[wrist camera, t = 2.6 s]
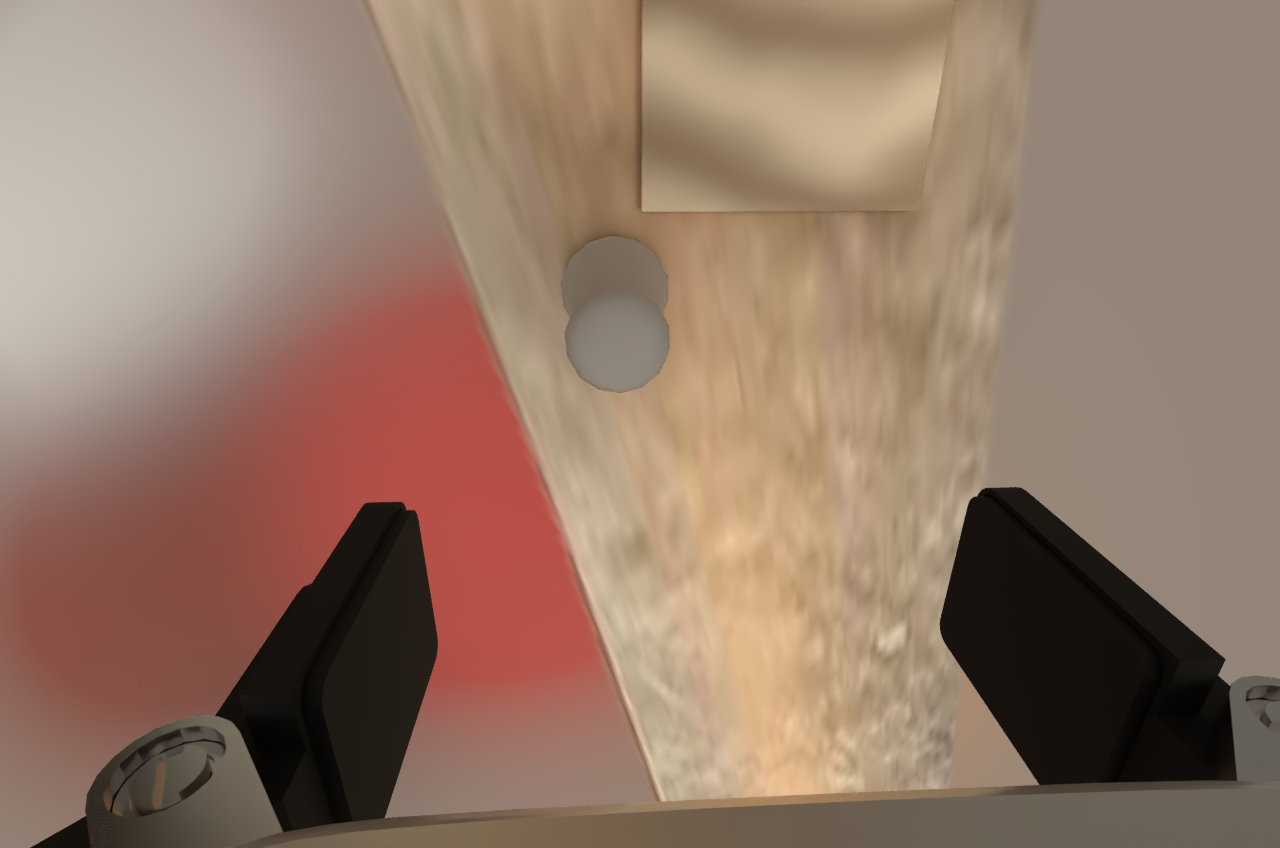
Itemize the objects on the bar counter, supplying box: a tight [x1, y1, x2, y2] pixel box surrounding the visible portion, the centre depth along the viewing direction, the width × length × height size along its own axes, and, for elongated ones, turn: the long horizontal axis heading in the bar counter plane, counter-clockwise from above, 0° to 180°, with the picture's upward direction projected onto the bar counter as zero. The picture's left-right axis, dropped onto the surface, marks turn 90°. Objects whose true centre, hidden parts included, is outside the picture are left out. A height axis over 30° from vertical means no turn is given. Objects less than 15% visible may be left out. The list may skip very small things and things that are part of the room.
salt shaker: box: [561, 235, 669, 393], centre depth 31 cm, size 6×6×13 cm
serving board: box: [641, 0, 955, 212], centre depth 32 cm, size 18×15×2 cm
